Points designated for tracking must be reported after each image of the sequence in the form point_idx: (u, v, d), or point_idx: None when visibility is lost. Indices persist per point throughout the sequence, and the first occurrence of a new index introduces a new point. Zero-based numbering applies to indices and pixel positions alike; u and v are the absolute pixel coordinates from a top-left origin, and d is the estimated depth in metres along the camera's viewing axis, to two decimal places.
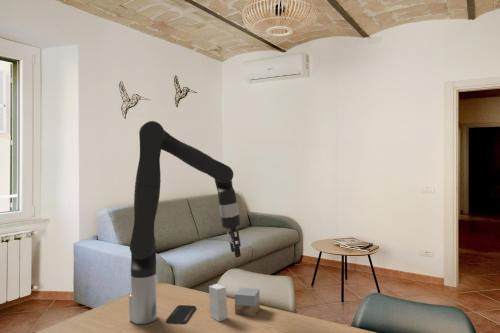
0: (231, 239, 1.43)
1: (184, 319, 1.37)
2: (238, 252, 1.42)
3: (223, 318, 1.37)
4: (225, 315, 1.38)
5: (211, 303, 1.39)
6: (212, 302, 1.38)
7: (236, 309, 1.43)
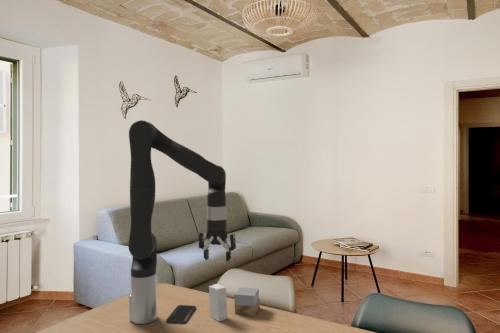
0: (224, 243, 1.37)
1: (184, 319, 1.37)
2: (230, 255, 1.38)
3: (223, 318, 1.37)
4: (225, 315, 1.38)
5: (211, 303, 1.39)
6: (212, 302, 1.38)
7: (236, 309, 1.43)
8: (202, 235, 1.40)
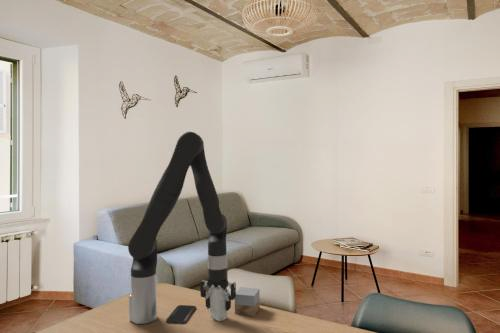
0: (224, 292, 1.37)
1: (184, 319, 1.37)
2: (230, 304, 1.38)
3: (223, 318, 1.37)
4: (225, 315, 1.38)
5: (211, 303, 1.39)
6: (212, 302, 1.38)
7: (236, 309, 1.43)
8: (203, 283, 1.40)
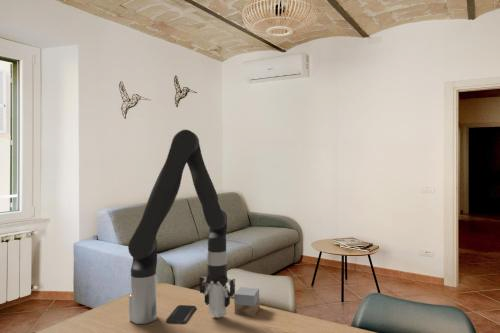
0: None
1: (184, 319, 1.37)
2: (229, 301, 1.38)
3: (222, 314, 1.37)
4: (224, 311, 1.38)
5: (210, 299, 1.39)
6: (211, 298, 1.38)
7: (236, 309, 1.43)
8: (202, 279, 1.40)
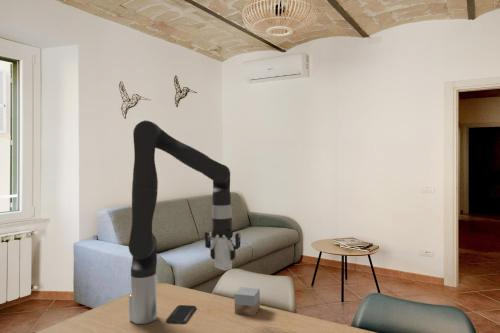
0: (229, 241, 1.38)
1: (184, 319, 1.37)
2: (235, 254, 1.39)
3: (228, 267, 1.38)
4: (230, 265, 1.38)
5: (216, 253, 1.40)
6: (217, 252, 1.39)
7: (236, 309, 1.43)
8: (208, 234, 1.41)
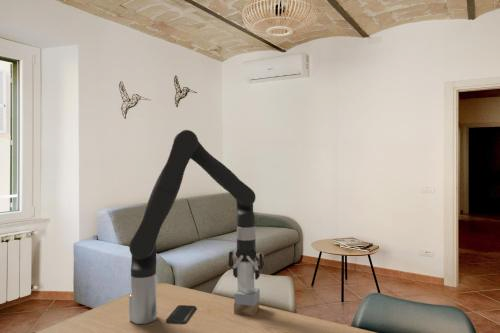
0: (253, 262, 1.43)
1: (184, 319, 1.37)
2: (259, 274, 1.44)
3: (251, 291, 1.43)
4: (252, 288, 1.44)
5: (239, 277, 1.45)
6: (240, 276, 1.45)
7: (235, 309, 1.43)
8: (232, 254, 1.46)
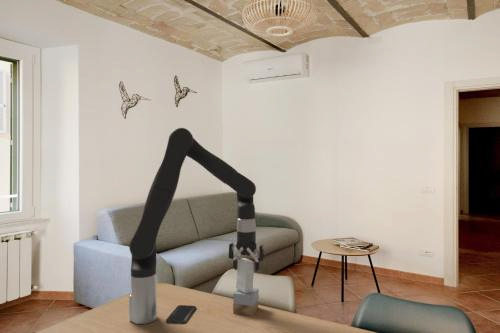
0: (254, 253, 1.43)
1: (184, 319, 1.37)
2: (259, 266, 1.44)
3: (249, 291, 1.44)
4: (251, 288, 1.44)
5: (238, 276, 1.45)
6: (239, 275, 1.45)
7: (234, 309, 1.43)
8: (232, 246, 1.46)
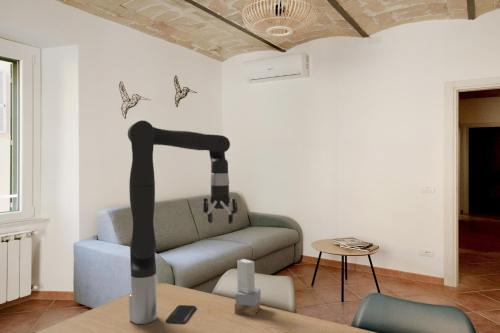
0: (227, 206, 1.49)
1: (184, 319, 1.37)
2: (232, 218, 1.50)
3: (251, 291, 1.43)
4: (253, 288, 1.44)
5: (239, 277, 1.45)
6: (240, 276, 1.44)
7: (236, 309, 1.43)
8: (206, 200, 1.52)
